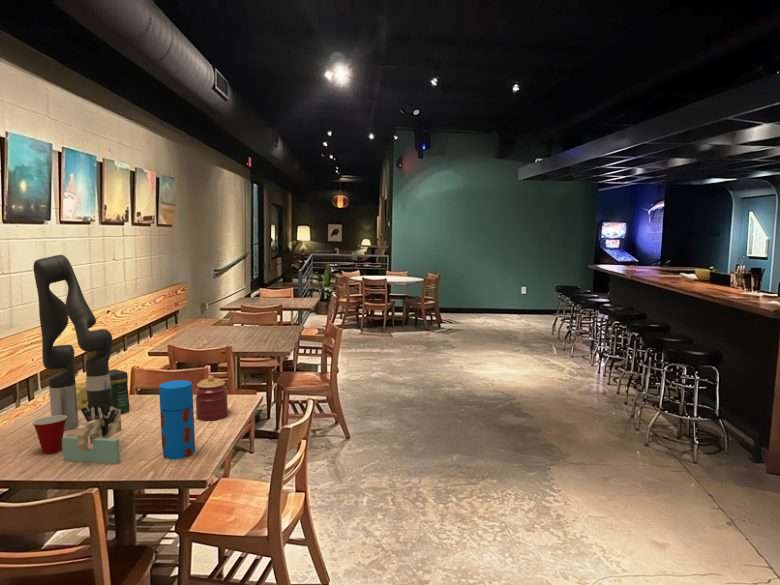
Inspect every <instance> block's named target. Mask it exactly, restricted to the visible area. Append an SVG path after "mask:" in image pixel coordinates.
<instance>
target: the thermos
mask: <svg viewBox="0 0 780 585" xmlns="http://www.w3.org/2000/svg"><path fill="white" fill-rule="evenodd" d="M158 388H159V389H158V394H159V410H160V411H159V412H160V415H159V416H160V430H161V432H160V433H161V447H162V457H163V458H164V459H167V460H181V459H186V458H188V457H191V456H192V455H194V454H195V451H196V450H195V449H196V448H195V446H196V442H195V441H196V440H195V439H196V438H195V417H194V414H195V413H194V394H193V384H192V381H189V380H184V379H183V380H181V379H179V380H171V381H166V382H163V383H161V384H160V385H159V387H158Z"/></svg>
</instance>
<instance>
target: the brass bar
mask: <svg viewBox="0 0 780 585" xmlns="http://www.w3.org/2000/svg"><path fill="white" fill-rule="evenodd" d="M109 415H110V413H109ZM104 416H105V415H104ZM101 426H102V424H101V420H100V417H98V418H96V419H93V420H91V421H89V422H87V421H86V423H83V424H80V425H78V426H77V427H76V431H77V437H78V448H79V451H85V450H86V449H88V448H89V447H90V446H89V444H90V445H93V439H95V438H110V437H112V436H114V435H115V434H116V435H117V434H118V433H119V432H121V431H122V414H121V411H120V409H119V411H118V413H117V415H116V417H115V420H114V422H112V423H110V424H109V425H108V429H109V432H108V434H107V435H106V436H102V428H101Z"/></svg>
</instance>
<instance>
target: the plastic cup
mask: <svg viewBox="0 0 780 585" xmlns="http://www.w3.org/2000/svg"><path fill="white" fill-rule="evenodd" d="M66 418H67V416H65V415H56V416H51V415H50V416H45V417H41V418H36V419H34V420H33V421H31V423H32V425H33V427H34V429H35V432H36V434H37V439H38V442H39V444H40V447H41V452H42V453H43V454H45V455H46V454H48V455H49V454H55V453H58V452H60V451H61V450H62V449H63V447H62V438H63V437H64V431H65V430H64V426H65V421H66Z"/></svg>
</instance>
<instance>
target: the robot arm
mask: <svg viewBox="0 0 780 585" xmlns="http://www.w3.org/2000/svg"><path fill="white" fill-rule="evenodd" d="M33 274H34V282H35V286H36V291H37V297H38V299H37V300H38V311H39V312H38V314H39V315H38V316H39V322H40V330H41V344H42V348H41V350H42V354H41V355H42V365H43V367H44V369H46V370H52V371H53V370H60V369H65V370H64V371H62V372H61V373H60V374H58V375H55V376H53V377H51V378H50V379H48V390H49V392H48V393H49V403H50V405H49V406H50V416H56V415H65V416H67V418H66V421H65V426H64V431H68V430H72V429H74V428H77V427H79V413H78V412H79V410H77V396H76V384H77V383H76V374H75V372H76V371H75V367H76V365H75V364H76V363H75V362H76V361H75V358H76V357H75V350H74V346H73V345H72V344H61V345H54V344H55V342H56V340H57V339H58V338H59V337H60V335H61V334H62V333H63V332H64V331H65V329H67V326H68V324H69V319H70V321H71V323H72V325H73V326H74V331H75V334H76V335H75V336H76V340H77V344H78V347H79V349H80V350H82V351H83V352H85V353H91V352H95V354H94V355H93V356H91V357H89V358H87V359H86V361H85V376H86V377H85V382H86V391H87V401H88V405H87V406H86V407H84V408H82V409H81V410H80V412H82V415H83V417H84V419H85V420H86V423H87V422H89V421H91V420H93V419H96V418H98V417H100V420H101V424H102V426H101V428H102V436H106V435H107V434H108V432H109V429H108V425H109V424H110V423H112V422H114V420H115V417H116V415H117V413H118V411H119V409H118V408H114V407H112V404H111V402H110V400H111V385H110V376H109V370H110V368H109V361H110V356H111V352H112V347H113V340H114V339H113V336H112V334H111V332H110V331H109V330H108V329H105V328H102V329H95V330H90V329H91V328H92V327H93V326H95V325H96V322H97V319H96V316H95V315H94V313H93V311H92V310H91V307H89V304H88V303H87V301H86V299H85V297H84V294H83V291H82V289H81V287H80V284H79V281H78V279H77V276H76V273H75V271H74V269H73V266H72V264H71V262H70V260H69V259H68V258H67V257H66V256H65V255H63V254H57V255H52V256H48V257H43V258H39V259H36V260H35V261H34V262H33ZM63 281H65V282H66V285H67V294H66V295H67V296H66V300H65V302H64V301H63V300H62V299H61V298H59V297H58V296H57V295H55V294H54V292H53V291H52V290H51V288H50V285H51V284H55V283H58V282H63ZM109 410H110V412H109ZM109 413H110V415H109ZM104 415H105V416H104Z"/></svg>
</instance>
